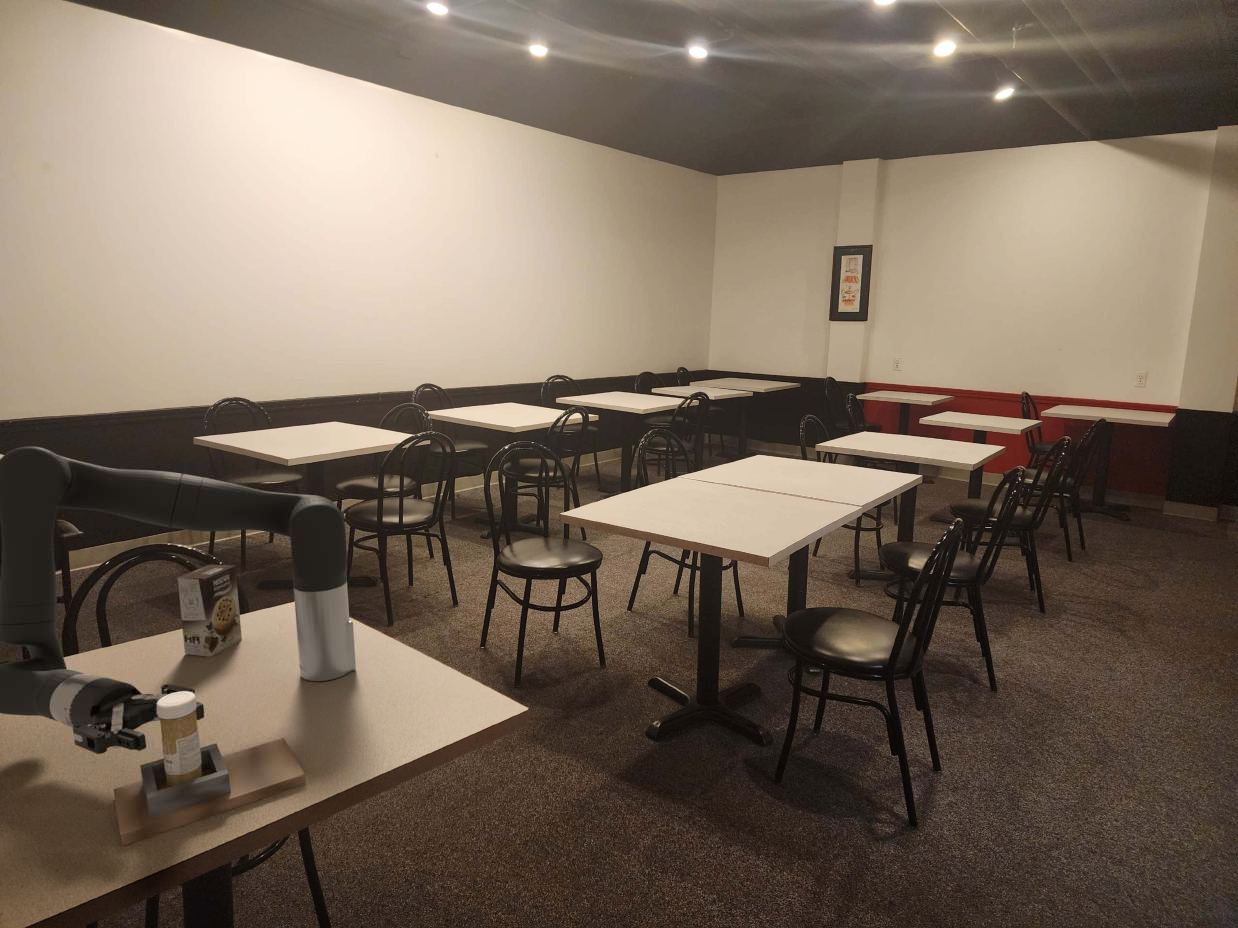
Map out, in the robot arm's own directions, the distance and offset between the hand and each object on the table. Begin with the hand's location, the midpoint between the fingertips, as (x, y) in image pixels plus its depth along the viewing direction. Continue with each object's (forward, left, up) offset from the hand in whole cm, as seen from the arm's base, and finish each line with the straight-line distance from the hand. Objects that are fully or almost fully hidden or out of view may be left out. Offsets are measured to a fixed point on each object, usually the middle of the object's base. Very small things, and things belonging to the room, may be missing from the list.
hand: (173, 726), depth 102 cm
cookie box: (-13, -53, -11) cm, 55 cm away
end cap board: (-4, +1, -10) cm, 11 cm away
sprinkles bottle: (-1, +1, -9) cm, 9 cm away
